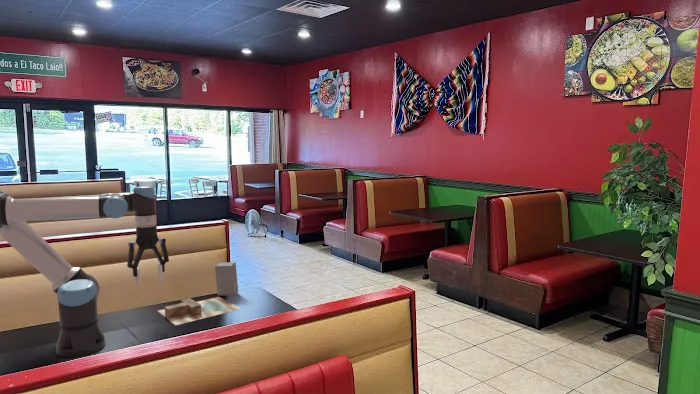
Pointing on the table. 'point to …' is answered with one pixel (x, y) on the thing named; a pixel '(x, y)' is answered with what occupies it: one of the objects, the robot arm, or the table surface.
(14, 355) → the table surface
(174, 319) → the board
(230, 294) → the skincare box
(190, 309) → the t block
